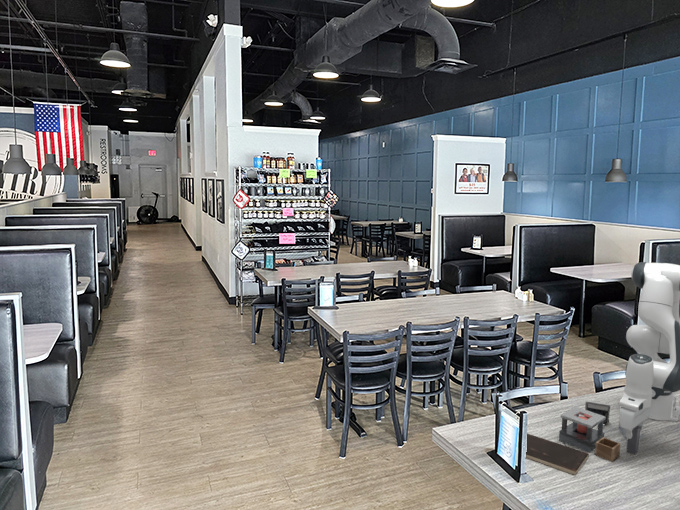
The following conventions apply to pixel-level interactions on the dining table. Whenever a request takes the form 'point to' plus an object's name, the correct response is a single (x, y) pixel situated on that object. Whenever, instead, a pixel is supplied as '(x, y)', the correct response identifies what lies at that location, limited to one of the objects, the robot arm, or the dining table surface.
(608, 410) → the electrical switch
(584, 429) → the button
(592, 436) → the grey ball cage
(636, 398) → the robot arm
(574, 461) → the hardcover book
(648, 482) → the dining table surface
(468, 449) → the dining table surface
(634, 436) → the dark gray rectangular block
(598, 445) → the brown wooden box
